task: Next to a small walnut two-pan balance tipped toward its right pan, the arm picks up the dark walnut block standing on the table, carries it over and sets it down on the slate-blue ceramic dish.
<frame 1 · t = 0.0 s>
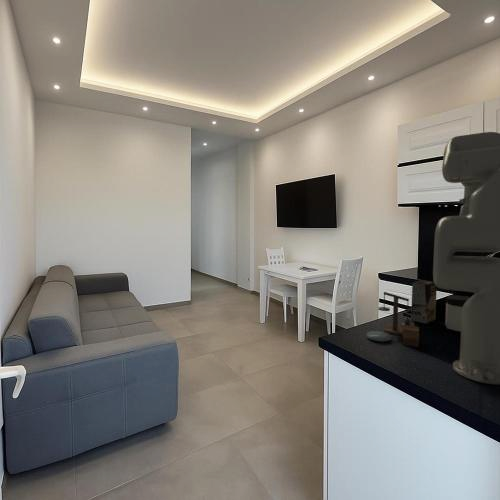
hand: (473, 246, 120), 31 cm above the counter, tool pointing down, fingers open, 9 cm apart
coffee box: (423, 320, 131), on the counter
block: (410, 343, 106), on the counter
jar: (457, 328, 120), on the counter
balance: (395, 332, 116), on the counter
dish: (378, 338, 110), on the counter
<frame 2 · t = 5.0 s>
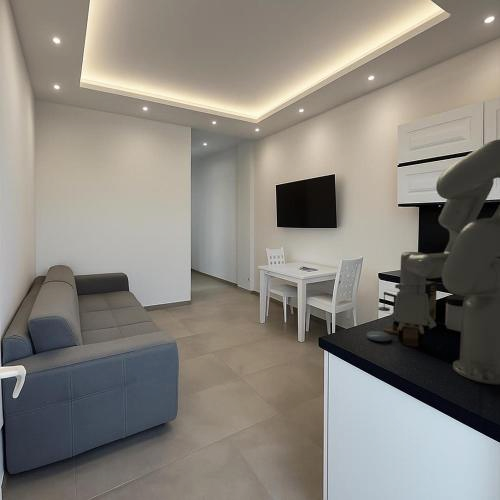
hand: (410, 341, 106), 1 cm above the counter, tool pointing down, fingers closed on block, 4 cm apart
block: (410, 343, 106), on the counter, touching gripper
everything else where it was.
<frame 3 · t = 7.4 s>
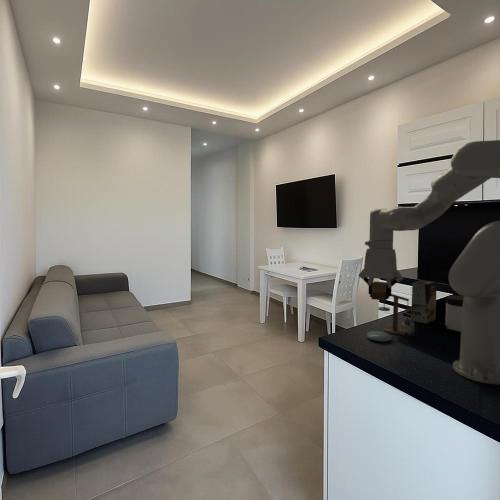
hand: (379, 296, 109), 15 cm above the counter, tool pointing down, fingers closed on block, 4 cm apart
block: (379, 298, 109), point 14 cm above the counter, touching gripper
everything else where it was.
when the fingers open (3 cm above the counter, at t = 9.9 s): block stays where it is, resting on dish.
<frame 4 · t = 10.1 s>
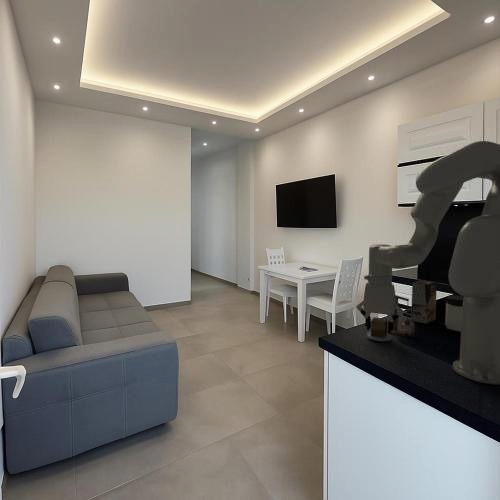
hand: (378, 330, 110), 3 cm above the counter, tool pointing down, fingers open, 6 cm apart
block: (379, 335, 110), point 1 cm above the counter, touching dish
everything else where it was.
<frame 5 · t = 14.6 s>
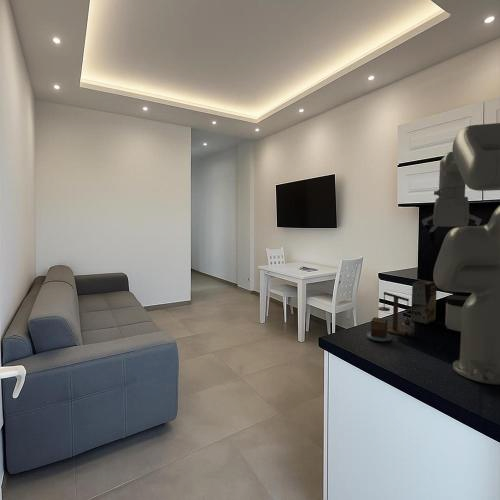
hand: (449, 243, 108), 33 cm above the counter, tool pointing down, fingers open, 9 cm apart
nothing on the counter moved.
at the end: block 0.1 cm from the dish (horizontally); block touching dish; block tilted 0° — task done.
